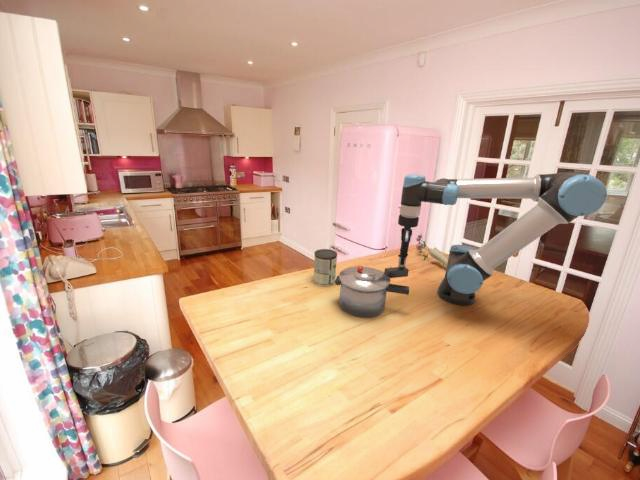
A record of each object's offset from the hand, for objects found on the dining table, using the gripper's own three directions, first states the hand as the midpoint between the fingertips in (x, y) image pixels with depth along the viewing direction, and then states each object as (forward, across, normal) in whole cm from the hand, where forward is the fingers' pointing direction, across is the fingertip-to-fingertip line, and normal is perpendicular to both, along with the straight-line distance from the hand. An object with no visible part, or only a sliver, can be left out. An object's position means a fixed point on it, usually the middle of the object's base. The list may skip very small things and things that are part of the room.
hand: (400, 270), depth 123 cm
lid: (+1, +9, -10) cm, 14 cm away
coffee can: (+13, -4, -33) cm, 36 cm away
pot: (+12, +11, -11) cm, 20 cm away
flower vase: (+13, -46, +20) cm, 51 cm away
